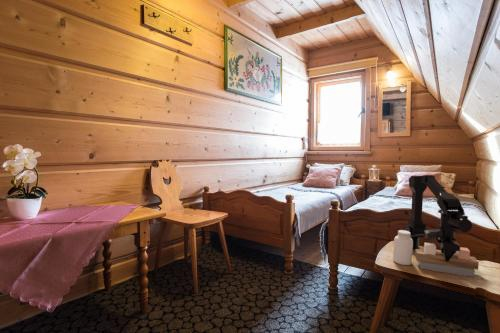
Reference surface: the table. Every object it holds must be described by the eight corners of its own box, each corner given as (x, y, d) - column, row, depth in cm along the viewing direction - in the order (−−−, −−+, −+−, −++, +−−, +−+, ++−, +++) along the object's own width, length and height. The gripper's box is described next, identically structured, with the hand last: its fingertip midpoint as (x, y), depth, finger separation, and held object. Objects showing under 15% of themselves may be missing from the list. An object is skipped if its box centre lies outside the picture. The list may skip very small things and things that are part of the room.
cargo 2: (455, 255, 128) (456, 246, 128) (466, 256, 127) (467, 248, 126) (458, 258, 125) (458, 249, 124) (469, 260, 123) (470, 251, 123)
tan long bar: (415, 256, 136) (415, 248, 135) (473, 264, 127) (474, 257, 126) (416, 260, 131) (417, 253, 130) (478, 269, 122) (478, 262, 121)
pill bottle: (414, 266, 131) (416, 235, 130) (395, 264, 133) (397, 233, 131) (408, 259, 139) (410, 229, 138) (390, 257, 141) (392, 228, 139)
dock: (417, 261, 136) (418, 255, 136) (468, 269, 129) (468, 263, 128) (420, 268, 129) (420, 262, 129) (474, 277, 121) (474, 270, 121)
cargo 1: (423, 250, 133) (424, 242, 133) (433, 252, 132) (434, 243, 131) (425, 253, 130) (425, 245, 129) (435, 255, 128) (436, 246, 128)
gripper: (423, 217, 139) (421, 248, 140) (430, 228, 121) (428, 263, 123) (450, 220, 134) (448, 252, 136) (462, 232, 117) (459, 268, 119)
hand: (445, 258), depth 128 cm, fingers open, 6 cm apart
